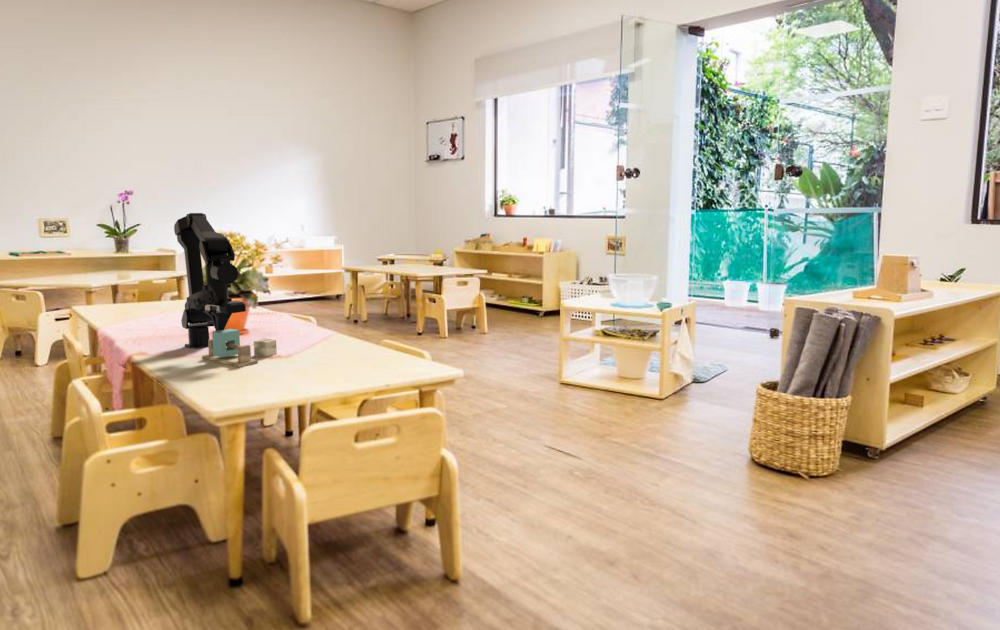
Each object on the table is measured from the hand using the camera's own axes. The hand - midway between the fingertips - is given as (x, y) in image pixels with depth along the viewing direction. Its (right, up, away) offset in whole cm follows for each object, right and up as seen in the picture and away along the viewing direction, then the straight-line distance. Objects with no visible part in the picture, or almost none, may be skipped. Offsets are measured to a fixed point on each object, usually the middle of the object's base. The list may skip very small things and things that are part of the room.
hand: (219, 334), depth 201 cm
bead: (+2, -6, -1) cm, 6 cm away
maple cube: (+11, -6, +7) cm, 14 cm away
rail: (+3, -8, -1) cm, 8 cm away
